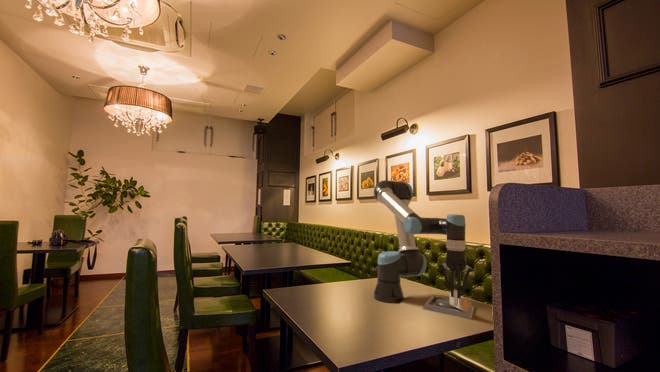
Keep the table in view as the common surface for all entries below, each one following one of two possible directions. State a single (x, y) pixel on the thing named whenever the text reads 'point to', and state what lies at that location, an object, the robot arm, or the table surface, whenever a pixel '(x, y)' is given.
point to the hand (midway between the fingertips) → (455, 305)
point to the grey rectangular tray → (432, 307)
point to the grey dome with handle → (450, 303)
